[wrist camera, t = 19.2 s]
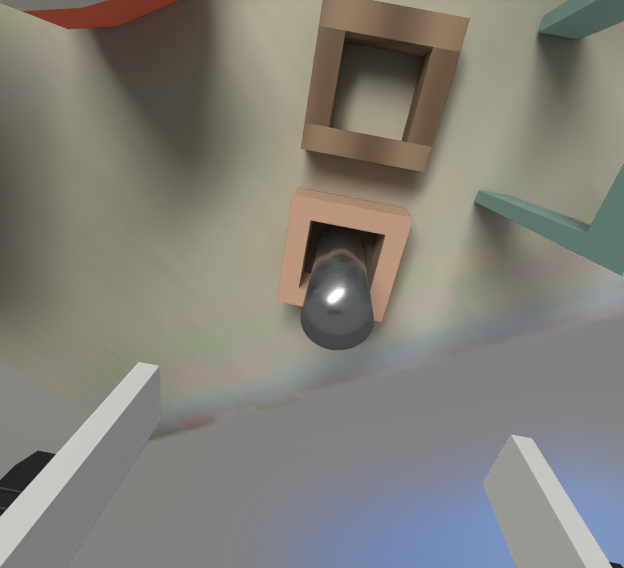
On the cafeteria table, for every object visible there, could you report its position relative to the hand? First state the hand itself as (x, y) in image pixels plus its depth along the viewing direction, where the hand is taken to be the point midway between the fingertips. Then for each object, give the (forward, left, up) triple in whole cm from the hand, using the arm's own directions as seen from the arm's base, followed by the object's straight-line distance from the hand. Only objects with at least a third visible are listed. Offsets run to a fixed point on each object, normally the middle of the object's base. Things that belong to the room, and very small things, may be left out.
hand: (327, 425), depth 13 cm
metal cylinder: (0, 0, -22) cm, 22 cm away
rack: (0, 0, -22) cm, 22 cm away
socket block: (0, +13, -22) cm, 26 cm away
